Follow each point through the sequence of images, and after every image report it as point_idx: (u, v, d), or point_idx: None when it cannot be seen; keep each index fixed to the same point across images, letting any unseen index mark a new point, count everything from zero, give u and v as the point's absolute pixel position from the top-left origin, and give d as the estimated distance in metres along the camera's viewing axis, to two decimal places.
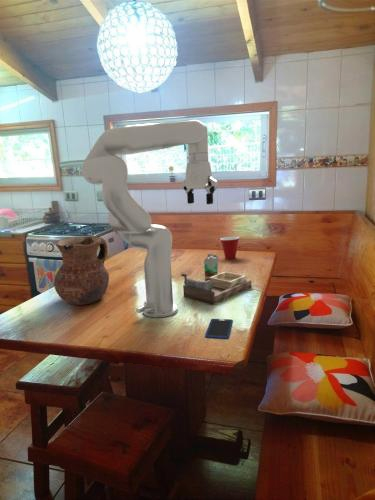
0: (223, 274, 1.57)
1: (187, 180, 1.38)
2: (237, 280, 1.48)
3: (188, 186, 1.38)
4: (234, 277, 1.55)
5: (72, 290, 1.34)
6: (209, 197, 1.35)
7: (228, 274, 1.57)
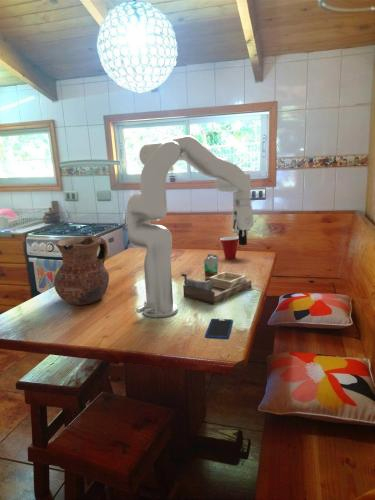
0: (223, 274, 1.57)
1: (242, 223, 1.50)
2: (237, 280, 1.48)
3: (243, 228, 1.51)
4: (234, 277, 1.55)
5: (72, 290, 1.34)
6: None
7: (228, 274, 1.57)
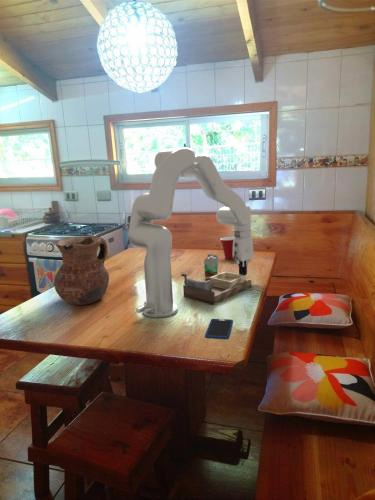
0: (223, 274, 1.57)
1: (242, 254, 1.53)
2: (237, 280, 1.48)
3: (243, 259, 1.54)
4: (234, 277, 1.55)
5: (72, 290, 1.34)
6: None
7: (228, 274, 1.57)
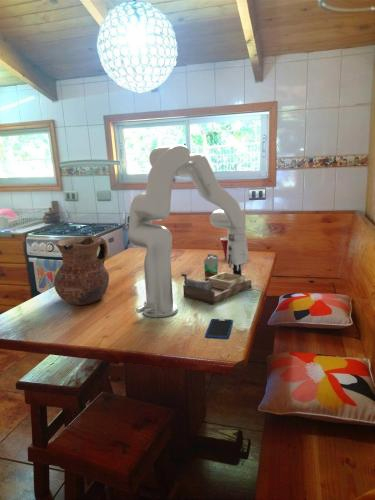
0: (222, 274, 1.57)
1: (237, 258, 1.50)
2: (236, 280, 1.47)
3: (238, 263, 1.51)
4: (233, 277, 1.55)
5: (72, 290, 1.34)
6: None
7: (227, 274, 1.57)
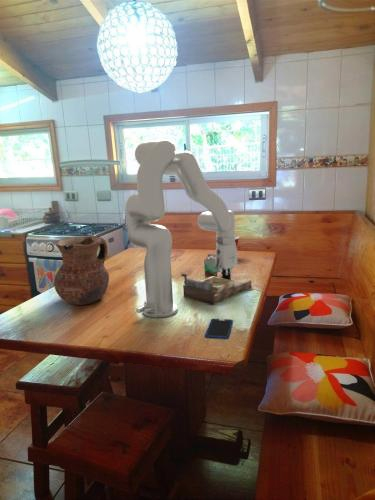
0: (211, 279, 1.51)
1: (225, 262, 1.45)
2: (224, 285, 1.41)
3: (226, 267, 1.46)
4: (222, 282, 1.49)
5: (72, 290, 1.34)
6: None
7: (216, 279, 1.51)
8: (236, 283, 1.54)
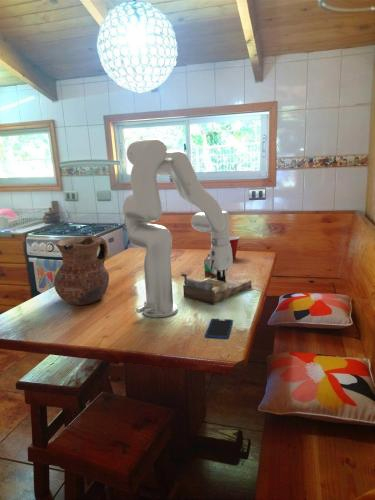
0: (205, 281, 1.49)
1: (220, 263, 1.42)
2: (219, 288, 1.39)
3: (221, 269, 1.43)
4: (217, 284, 1.47)
5: (72, 290, 1.34)
6: None
7: (211, 281, 1.49)
8: (236, 283, 1.54)
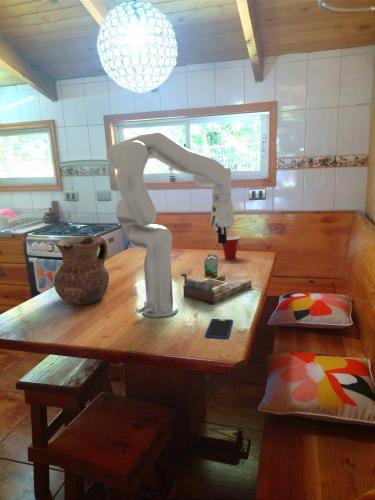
0: (205, 281, 1.49)
1: (221, 219, 1.42)
2: (219, 288, 1.39)
3: (222, 225, 1.42)
4: (217, 284, 1.47)
5: (72, 290, 1.34)
6: None
7: (211, 281, 1.49)
8: (236, 283, 1.54)
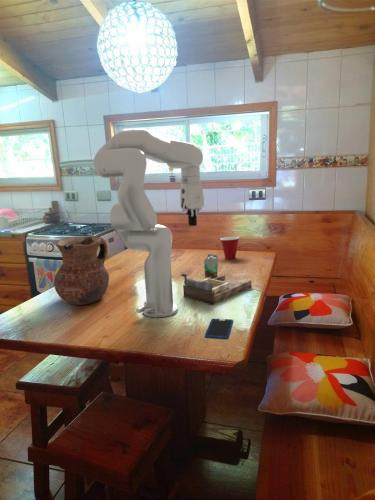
0: (205, 281, 1.49)
1: (190, 201, 1.43)
2: (219, 288, 1.39)
3: (191, 207, 1.44)
4: (217, 284, 1.47)
5: (72, 290, 1.34)
6: None
7: (211, 281, 1.49)
8: (236, 283, 1.54)
